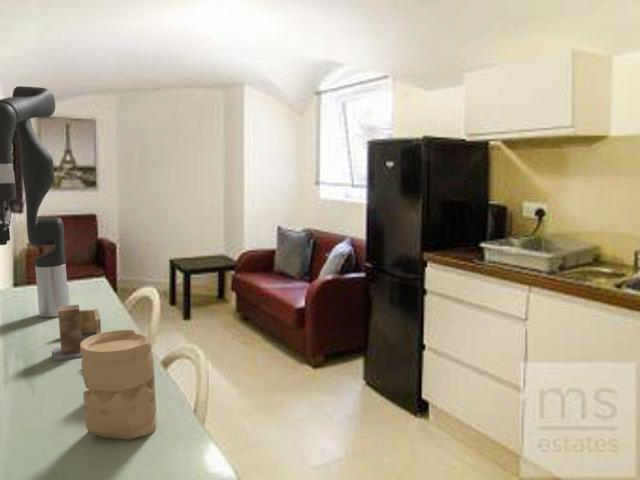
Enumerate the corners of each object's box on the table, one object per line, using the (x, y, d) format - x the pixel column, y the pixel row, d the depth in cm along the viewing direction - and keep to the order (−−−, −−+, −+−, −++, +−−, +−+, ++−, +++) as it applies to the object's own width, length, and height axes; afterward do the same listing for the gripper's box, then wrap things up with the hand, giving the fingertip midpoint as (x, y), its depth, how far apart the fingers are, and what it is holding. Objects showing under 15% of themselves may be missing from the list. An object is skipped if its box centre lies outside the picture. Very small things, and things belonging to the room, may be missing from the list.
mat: (54, 350, 142) (53, 348, 142) (89, 345, 146) (89, 343, 146) (53, 361, 134) (53, 359, 134) (91, 355, 138) (91, 353, 138)
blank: (61, 355, 136) (58, 311, 135) (61, 349, 141) (58, 306, 139) (82, 352, 139) (79, 309, 137) (81, 346, 143) (78, 304, 141)
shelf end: (68, 347, 144) (66, 323, 143) (67, 334, 156) (66, 311, 155) (101, 342, 148) (100, 319, 147) (99, 330, 159) (97, 308, 158)
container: (141, 408, 107) (136, 325, 105) (167, 432, 98) (163, 340, 95) (77, 429, 99) (70, 338, 96) (99, 456, 90) (92, 357, 87)
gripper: (12, 181, 130) (18, 245, 132) (17, 180, 143) (22, 238, 145) (-23, 182, 127) (-17, 247, 129) (-15, 181, 140) (-10, 240, 142)
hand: (3, 242), depth 137 cm, fingers open, 8 cm apart
